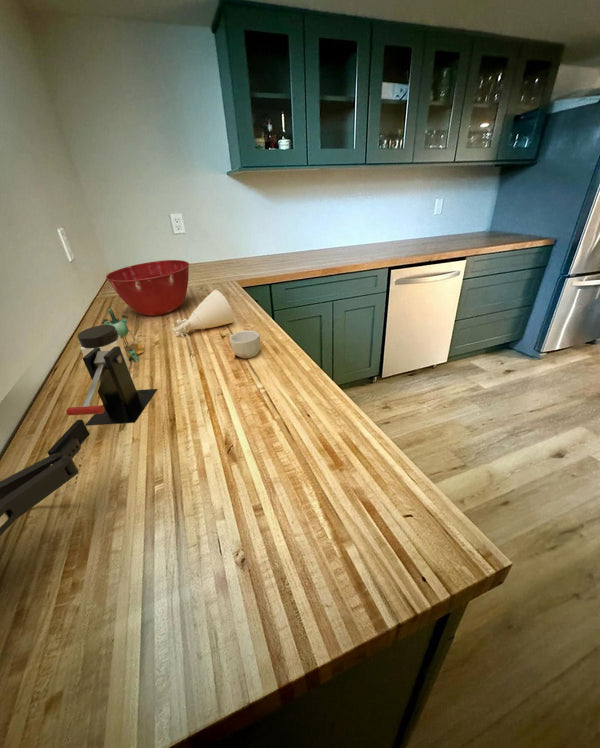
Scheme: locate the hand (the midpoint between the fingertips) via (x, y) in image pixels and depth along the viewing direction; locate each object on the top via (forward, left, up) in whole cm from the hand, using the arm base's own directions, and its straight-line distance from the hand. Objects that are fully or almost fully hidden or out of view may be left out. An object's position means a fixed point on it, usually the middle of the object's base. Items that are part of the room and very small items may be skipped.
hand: (38, 429), depth 48 cm
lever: (-3, +15, -2) cm, 16 cm away
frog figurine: (-19, +43, -11) cm, 49 cm away
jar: (-16, +33, -11) cm, 39 cm away
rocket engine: (-5, +63, -11) cm, 65 cm away
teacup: (+15, +46, -11) cm, 50 cm away
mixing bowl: (-31, +81, -11) cm, 88 cm away
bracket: (-3, +19, -11) cm, 23 cm away
